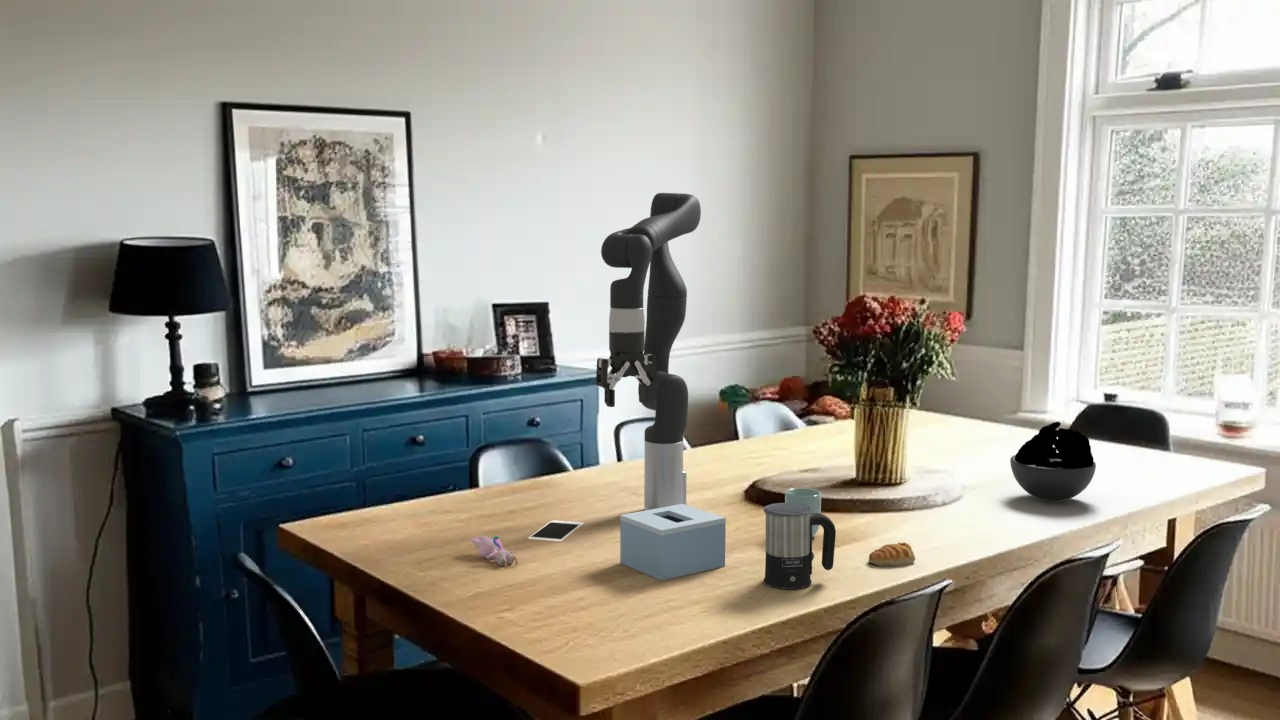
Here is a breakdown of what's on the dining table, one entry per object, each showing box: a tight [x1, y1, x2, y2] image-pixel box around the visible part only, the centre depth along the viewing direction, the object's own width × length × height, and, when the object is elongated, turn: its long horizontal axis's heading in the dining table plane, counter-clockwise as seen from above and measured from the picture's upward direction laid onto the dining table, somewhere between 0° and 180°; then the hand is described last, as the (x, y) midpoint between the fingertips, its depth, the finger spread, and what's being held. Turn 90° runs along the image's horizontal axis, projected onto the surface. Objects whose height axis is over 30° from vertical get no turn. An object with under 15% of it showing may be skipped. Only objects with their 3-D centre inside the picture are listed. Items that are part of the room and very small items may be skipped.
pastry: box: [868, 542, 916, 567], centre depth 239 cm, size 9×7×4 cm
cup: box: [784, 487, 822, 538], centre depth 258 cm, size 8×8×10 cm
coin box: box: [619, 504, 727, 581], centre depth 237 cm, size 16×14×10 cm
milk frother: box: [763, 502, 837, 590], centre depth 229 cm, size 14×16×15 cm
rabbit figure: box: [469, 534, 519, 569], centre depth 240 cm, size 6×6×15 cm
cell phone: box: [527, 519, 585, 543], centre depth 262 cm, size 8×16×1 cm, turn 164°
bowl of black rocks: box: [1009, 421, 1097, 502], centre depth 290 cm, size 20×20×19 cm
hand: (626, 404), depth 250 cm, fingers open, 8 cm apart
